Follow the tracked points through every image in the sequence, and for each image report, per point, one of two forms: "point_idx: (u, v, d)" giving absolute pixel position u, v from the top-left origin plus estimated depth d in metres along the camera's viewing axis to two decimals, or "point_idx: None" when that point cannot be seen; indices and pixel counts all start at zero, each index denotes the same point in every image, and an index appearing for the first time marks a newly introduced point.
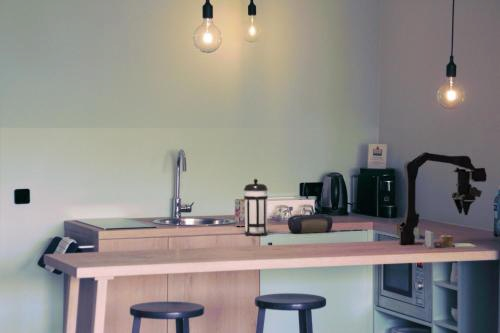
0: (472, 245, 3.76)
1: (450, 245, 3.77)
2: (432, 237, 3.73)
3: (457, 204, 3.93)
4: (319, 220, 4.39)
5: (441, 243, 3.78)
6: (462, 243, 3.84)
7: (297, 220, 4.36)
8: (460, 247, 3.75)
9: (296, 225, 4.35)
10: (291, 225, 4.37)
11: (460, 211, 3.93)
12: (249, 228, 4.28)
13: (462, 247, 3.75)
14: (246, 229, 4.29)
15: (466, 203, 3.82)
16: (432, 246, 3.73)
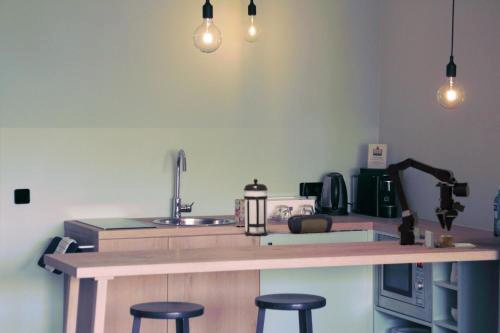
0: (472, 245, 3.76)
1: (450, 245, 3.77)
2: (432, 237, 3.73)
3: (440, 219, 3.84)
4: (319, 220, 4.39)
5: (441, 243, 3.78)
6: (462, 243, 3.84)
7: (297, 220, 4.36)
8: (460, 247, 3.75)
9: (296, 225, 4.35)
10: (291, 225, 4.37)
11: (443, 226, 3.83)
12: (249, 228, 4.28)
13: (462, 247, 3.75)
14: (246, 229, 4.29)
15: (448, 218, 3.73)
16: (432, 246, 3.73)
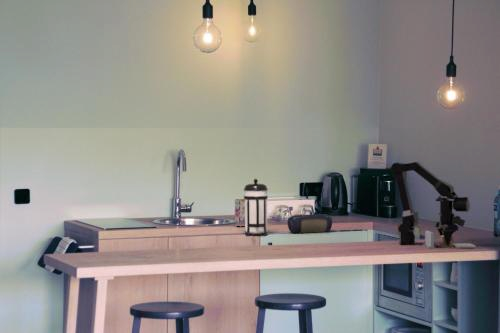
0: (472, 245, 3.76)
1: (450, 245, 3.77)
2: (432, 237, 3.73)
3: (441, 234, 3.82)
4: (319, 220, 4.40)
5: (441, 243, 3.78)
6: (462, 243, 3.84)
7: (297, 220, 4.36)
8: (460, 247, 3.75)
9: (296, 225, 4.35)
10: (291, 225, 4.38)
11: None
12: (249, 228, 4.28)
13: (462, 247, 3.75)
14: (246, 229, 4.29)
15: (448, 233, 3.75)
16: (432, 246, 3.73)
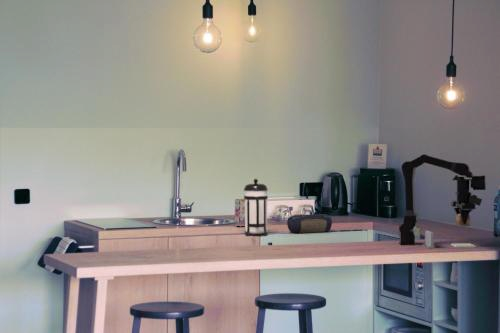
0: (472, 245, 3.76)
1: (467, 224, 3.77)
2: (432, 237, 3.73)
3: (458, 213, 3.82)
4: (318, 220, 4.40)
5: (458, 222, 3.78)
6: (462, 243, 3.84)
7: (296, 220, 4.36)
8: (460, 247, 3.75)
9: (295, 225, 4.36)
10: (290, 225, 4.38)
11: None
12: (249, 228, 4.28)
13: (462, 247, 3.75)
14: (246, 229, 4.29)
15: (465, 211, 3.75)
16: (432, 246, 3.73)
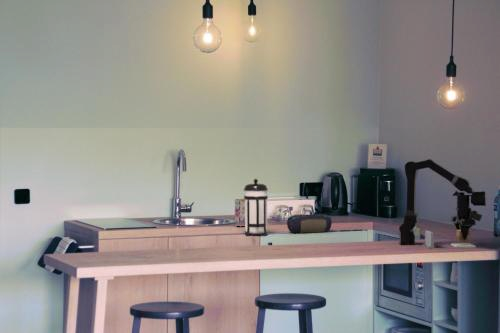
0: (472, 245, 3.76)
1: (467, 239, 3.77)
2: (432, 237, 3.73)
3: (458, 228, 3.82)
4: (318, 220, 4.40)
5: (458, 237, 3.78)
6: (462, 243, 3.84)
7: (296, 220, 4.37)
8: (460, 247, 3.75)
9: (295, 225, 4.36)
10: (290, 225, 4.38)
11: None
12: (249, 228, 4.28)
13: (462, 247, 3.75)
14: (246, 229, 4.29)
15: (465, 227, 3.75)
16: (432, 246, 3.73)
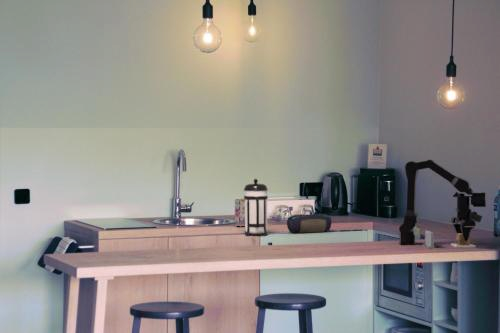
0: (472, 245, 3.76)
1: (467, 243, 3.77)
2: (432, 237, 3.73)
3: (457, 229, 3.84)
4: (318, 220, 4.41)
5: (458, 241, 3.78)
6: None
7: (296, 220, 4.37)
8: (460, 247, 3.75)
9: (295, 225, 4.36)
10: (290, 225, 4.38)
11: None
12: (249, 228, 4.28)
13: (462, 247, 3.75)
14: (246, 229, 4.29)
15: (466, 229, 3.73)
16: (432, 246, 3.73)
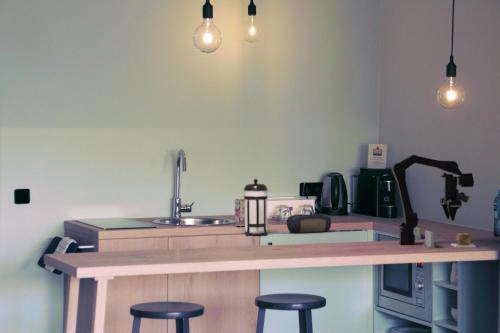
0: (472, 245, 3.76)
1: (467, 243, 3.77)
2: (432, 237, 3.73)
3: (445, 209, 3.93)
4: (318, 220, 4.41)
5: (458, 241, 3.78)
6: None
7: (296, 220, 4.37)
8: (460, 247, 3.75)
9: (295, 225, 4.37)
10: (290, 225, 4.39)
11: (448, 216, 3.92)
12: (249, 228, 4.28)
13: (462, 247, 3.75)
14: (246, 229, 4.29)
15: (453, 208, 3.82)
16: (432, 246, 3.73)
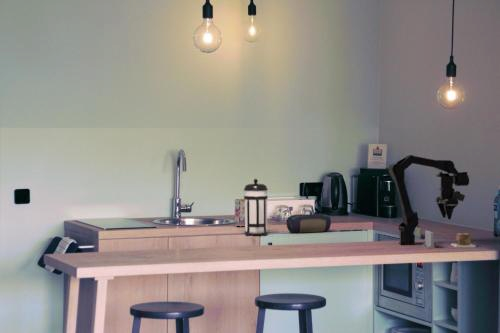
0: (472, 245, 3.76)
1: (467, 243, 3.77)
2: (432, 237, 3.73)
3: (441, 208, 3.96)
4: (317, 220, 4.41)
5: (458, 241, 3.78)
6: None
7: (296, 220, 4.37)
8: (460, 247, 3.75)
9: (295, 225, 4.37)
10: (290, 225, 4.39)
11: (444, 215, 3.95)
12: (249, 228, 4.28)
13: (462, 247, 3.75)
14: (246, 229, 4.29)
15: (449, 207, 3.85)
16: (432, 246, 3.73)
